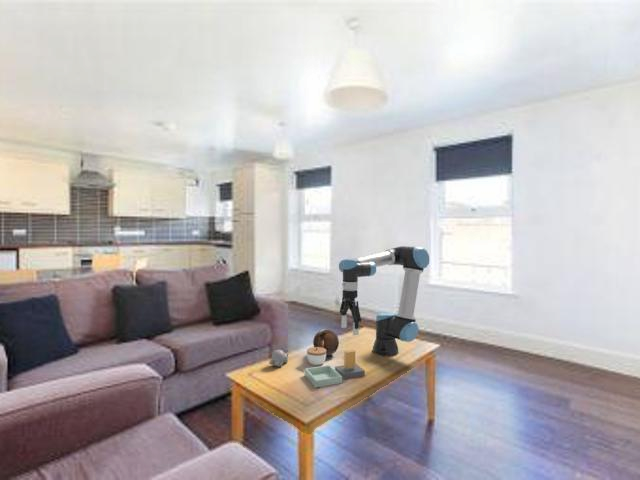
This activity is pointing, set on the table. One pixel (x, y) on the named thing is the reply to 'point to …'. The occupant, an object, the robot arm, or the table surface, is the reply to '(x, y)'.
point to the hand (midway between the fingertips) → (349, 331)
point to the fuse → (349, 359)
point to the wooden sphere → (326, 341)
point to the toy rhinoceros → (278, 358)
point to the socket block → (350, 372)
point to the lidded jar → (316, 355)
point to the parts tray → (323, 376)
